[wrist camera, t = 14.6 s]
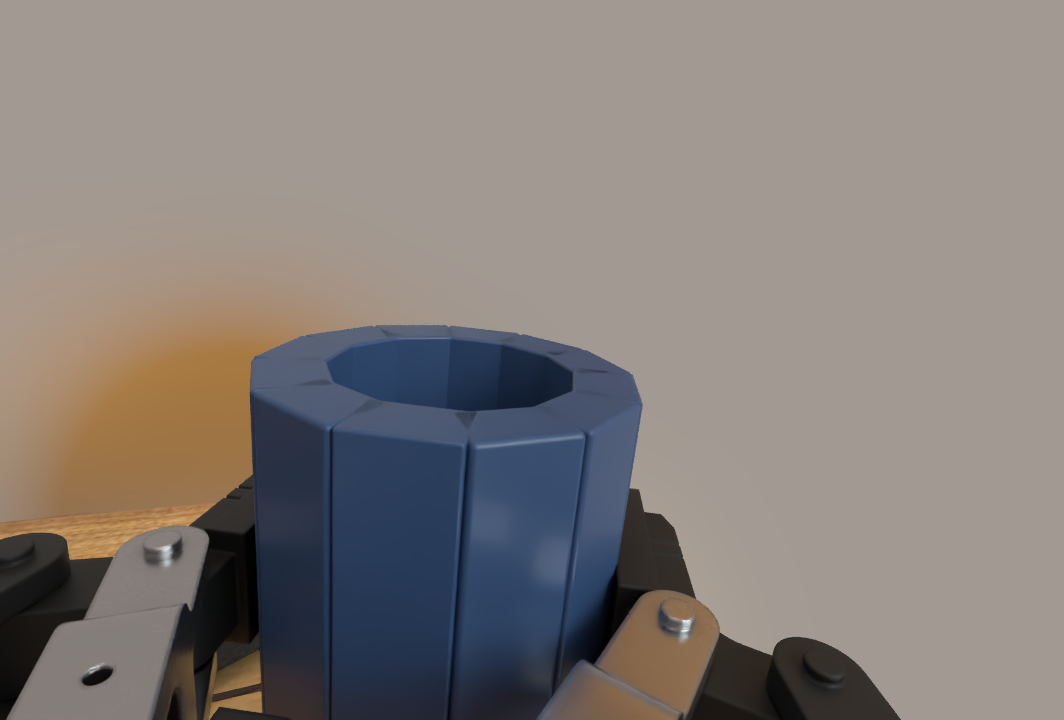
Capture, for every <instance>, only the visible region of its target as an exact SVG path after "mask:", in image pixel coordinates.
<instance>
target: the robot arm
mask: <svg viewBox="0 0 1064 720" xmlns="http://www.w3.org/2000/svg"><path fill="white" fill-rule="evenodd" d="M258 633H259V614H258V589H257V563H256V538H255V513H254V487H253V475H252V476H251V477H249V478H248V479H247V480H245V481H244V482H243V483H242V484H240V485H239V488H235V489H234V490H233V491H232V492H231V493H229V494H228V495H227V497H226V498H223V499H222V500H221V501H219V502H218V503H217V504H216V505H214V506H213V507H212V508H211V509H209V510H208V511H207V512H206V513H204V514H203V515H202V516H201V517H199V518H198V519H197V520H196V521H194V522H193V523H192V524H191V525H189V526H170V527H163V528H159V529H155V530H151V531H148V532H145V533H143V534H140V535H138V536H136V537H134V538H132V539H131V540H129V541H127V542H126V543H125V544H123V545H122V546H121V547H120V548H119V549H118V550H117V552H116V554H115V555H114V557H106V558H91V559H77V560H69V553H68V546H67V541H66V540H65V538H63V537H62V536H60V535H57V534H52V533H29V534H22V535H17V536H12V537H8V538H4V539H1V540H0V720H209V715H210V708H211V702H212V696H213V690H214V683H215V677H216V671H217V652H216V651H217V650H218V648H219V647H220V646H221V645H222V643H223V642H224V641H229V642H236V643H243V644H250V643H251V642H252V641H253V639H254V638H255V637H256V635H257V634H258ZM210 720H291V719H289V718H287V717H283V716H276V715H270V714H263V713H257V712H250V711H243V710H237V709H230V708H224V707H219V708H218V710H217V711H216V712H215V714H214V715H213V716H212V718H211V719H210ZM536 720H901V719H900V718H899V717H898V715H897V714H896V713H895V711H894V710H893V709H892V707H891V706H890V705H889V703H888V702H887V701H886V699H885V698H884V697H883V696H882V694H881V693H880V692H879V690H878V689H877V688H876V686H875V685H874V684H873V683H872V681H871V680H870V678H869V677H868V676H867V674H866V673H865V672H864V671H863V670H862V669H861V667H860V666H858V665H857V664H856V663H855V662H854V661H853V660H852V659H851V658H849V657H848V656H847V655H845V654H844V653H842V652H841V651H839V650H837V649H835V648H833V647H832V646H829V645H827V644H825V643H823V642H819V641H817V640H813V639H809V638H802V637H791V638H786V639H783V640H781V641H780V642H778V643H777V644H776V646H775V648H774V651H773V655H769V654H766V653H763V652H761V651H758V650H755V649H753V648H750V647H747V646H744V645H742V644H740V643H737V642H735V641H733V640H731V639H729V638H728V637H726V636H724V635H723V634H721V633H720V627H719V624H718V621H717V619H716V617H715V616H714V614H713V613H712V612H711V611H710V610H709V609H708V608H707V607H706V606H705V605H703V604H702V603H701V602H699V601H698V600H696V597H695V594H694V591H693V588H692V585H691V581H690V578H689V574H688V572H687V568H686V565H685V562H684V559H683V555H682V552H681V548H680V546H679V542H678V539H677V535H676V532H675V529H674V527H673V526H672V525H671V524H670V523H669V522H668V521H667V520H666V519H665V518H664V517H663V516H662V515H661V514H655V513H647V512H644V510H643V505H642V500H641V496H640V492H639V490H638V489H631V488H629V494H628V500H627V506H626V513H625V519H624V525H623V531H622V538H621V544H620V550H619V557H618V563H617V565H616V569H615V576H614V582H613V589H612V595H611V601H610V608H609V614H608V620H607V627H606V633H605V640H604V646H603V652H602V653H601V655H600V656H599V658H598V659H597V661H596V662H595V664H592V663H590V662H588V661H586V660H584V659H582V660H580V661H579V662H578V663H577V664H576V665H575V666H574V667H573V669H572V670H571V671H570V673H569V674H568V676H567V677H566V678H565V680H564V681H563V682H562V684H561V685H560V687H559V688H558V689H557V691H556V692H555V694H554V695H553V696H552V698H551V699H550V701H549V702H548V703H547V705H546V706H545V707H544V709H543V710H542V712H541V713H540V714H539V716H538V717H537V719H536Z"/></svg>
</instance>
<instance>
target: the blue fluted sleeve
mask: <svg viewBox="0 0 1064 720" xmlns="http://www.w3.org/2000/svg"><path fill="white" fill-rule="evenodd" d="M642 405H643V404H642V401H641V398H640V395H639V392H638V389H637V386H636V383H635V380H634V377H633V375H632V374H630V373H629V372H628V371H626V370H624V369H622V368H620V367H618V366H616V365H614V364H612V363H610V362H608V361H606V360H604V359H602V358H600V357H598V356H596V355H594V354H592V353H591V352H589V351H586V350H582V349H580V348H576V347H572V346H568V345H564V344H560V343H556V342H552V341H548V340H544V339H539V338H536V337H532V336H528V335H519V334H517V333H511V332H501V331H493V330H483V329H475V328H466V327H456V326H450V327H448V326H446V325H417V326H416V325H399V326H398V325H389V326H388V325H381V326H379V325H378V326H375V327H373V326H367V327H360V328H353V329H346V330H339V331H332V332H325V333H318V334H310V335H307V336H301V337H298V338H296V339H294V340H292V341H289V342H287V343H285V344H282V345H280V346H278V347H276V348H273V349H271V350H269V351H267V352H264V353H262V354H260V355H258V356H255V357H254V359H253V360H252V362H251V378H250V411H251V435H252V462H253V487H254V513H255V538H256V563H257V589H258V614H259V640H260V665H261V691H262V713H263V714H270V715H276V716H283V717H287V718H289V719H291V720H536V719H537V717H538V716H539V714H540V713H541V712H542V710H543V709H544V707H545V706H546V705H547V703H548V702H549V701H550V699H551V698H552V696H553V695H554V694H555V692H556V691H557V689H558V688H559V687H560V685H561V684H562V682H563V681H564V680H565V678H566V677H567V676H568V674H569V673H570V671H571V670H572V669H573V667H574V666H575V665H576V664H577V663H578V662H579V661H580V660H582V659H584V660H586V661H588V662H590V663H592V664H595V662H596V661H597V659H598V658H599V656H600V655H601V653H602V652H603V646H604V640H605V633H606V627H607V620H608V614H609V608H610V601H611V595H612V589H613V582H614V576H615V569H616V565H617V563H618V557H619V550H620V544H621V538H622V531H623V525H624V519H625V513H626V506H627V500H628V494H629V487H630V481H631V474H632V468H633V462H634V456H635V450H636V443H637V437H638V431H639V424H640V417H641V412H642Z"/></svg>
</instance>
